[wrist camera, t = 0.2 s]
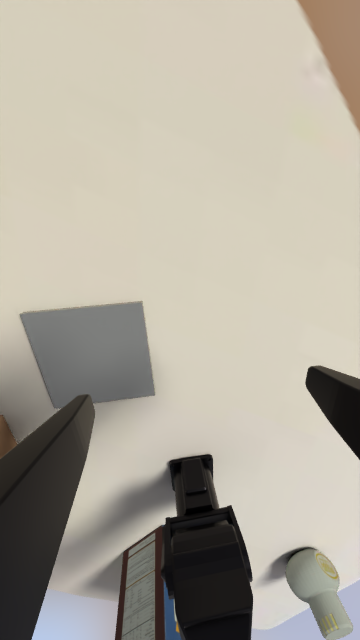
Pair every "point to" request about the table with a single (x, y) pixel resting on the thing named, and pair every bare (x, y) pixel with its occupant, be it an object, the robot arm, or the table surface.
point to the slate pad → (92, 351)
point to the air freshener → (319, 591)
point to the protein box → (145, 594)
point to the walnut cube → (5, 438)
